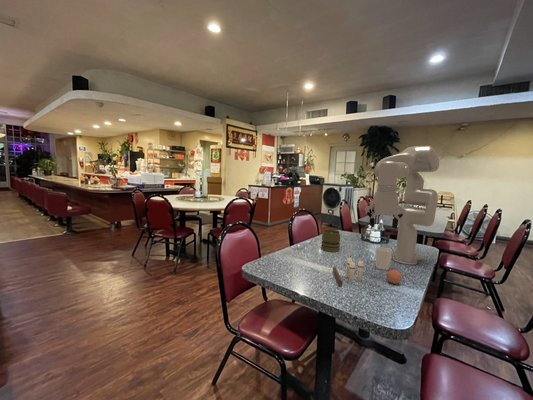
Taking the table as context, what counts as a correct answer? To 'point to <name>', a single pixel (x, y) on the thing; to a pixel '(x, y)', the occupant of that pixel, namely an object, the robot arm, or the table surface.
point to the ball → (394, 276)
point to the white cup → (383, 258)
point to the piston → (331, 241)
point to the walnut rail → (337, 276)
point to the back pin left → (351, 272)
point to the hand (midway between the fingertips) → (383, 227)
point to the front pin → (360, 271)
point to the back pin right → (348, 267)
